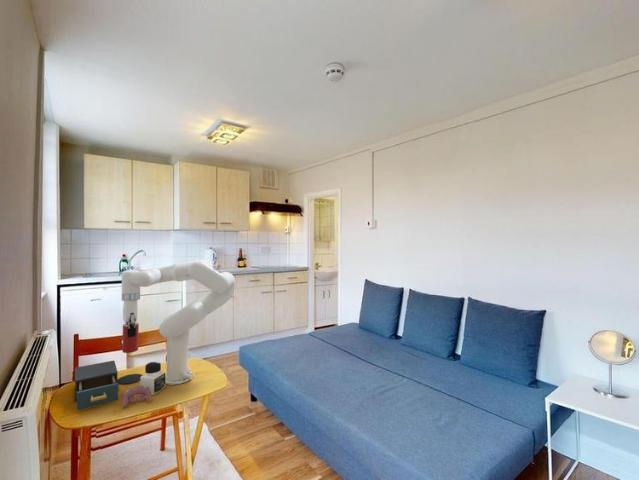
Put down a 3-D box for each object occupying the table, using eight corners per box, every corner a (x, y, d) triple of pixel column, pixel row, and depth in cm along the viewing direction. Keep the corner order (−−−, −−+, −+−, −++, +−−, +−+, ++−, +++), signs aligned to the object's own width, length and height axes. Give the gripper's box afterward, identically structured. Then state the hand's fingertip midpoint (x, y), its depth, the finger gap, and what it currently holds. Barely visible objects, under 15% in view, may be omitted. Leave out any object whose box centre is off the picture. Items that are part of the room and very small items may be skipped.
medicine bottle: (154, 395, 136) (154, 367, 135) (139, 393, 137) (140, 365, 137) (165, 387, 143) (165, 360, 142) (151, 385, 144) (151, 359, 144)
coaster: (148, 376, 153) (148, 375, 153) (129, 386, 143) (129, 385, 143) (131, 373, 156) (131, 372, 156) (111, 382, 146) (111, 381, 146)
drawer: (119, 404, 126) (119, 387, 126) (76, 415, 118) (76, 397, 118) (114, 386, 141) (115, 371, 141) (76, 395, 133) (76, 379, 133)
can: (129, 353, 145) (130, 326, 145) (119, 351, 147) (119, 324, 147) (141, 349, 152) (141, 322, 151) (131, 347, 154) (131, 321, 153)
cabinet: (117, 391, 138) (117, 371, 138) (74, 401, 129) (75, 380, 129) (114, 378, 151) (114, 360, 151) (75, 386, 142) (75, 367, 142)
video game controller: (150, 401, 133) (149, 384, 136) (151, 401, 130) (150, 383, 132) (122, 408, 128) (122, 389, 130) (122, 408, 124) (122, 388, 127)
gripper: (119, 294, 154) (119, 331, 154) (123, 300, 140) (123, 341, 140) (137, 292, 158) (137, 328, 159) (143, 298, 144) (142, 338, 145)
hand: (130, 334), depth 149 cm, fingers closed on can, 6 cm apart
